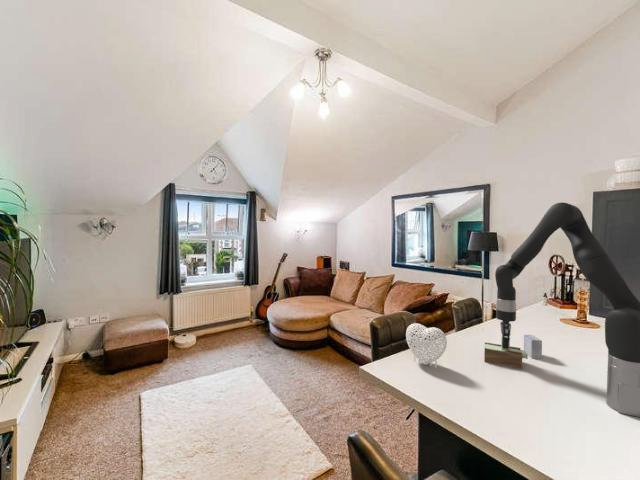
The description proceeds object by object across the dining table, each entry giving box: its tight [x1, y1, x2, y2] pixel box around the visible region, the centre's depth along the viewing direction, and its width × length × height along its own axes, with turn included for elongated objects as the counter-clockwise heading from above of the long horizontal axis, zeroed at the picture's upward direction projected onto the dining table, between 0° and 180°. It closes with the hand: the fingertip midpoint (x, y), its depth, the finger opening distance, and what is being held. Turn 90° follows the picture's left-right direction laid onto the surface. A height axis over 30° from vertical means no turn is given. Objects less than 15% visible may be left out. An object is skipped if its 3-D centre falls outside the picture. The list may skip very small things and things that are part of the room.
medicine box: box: [523, 334, 543, 360], centre depth 142 cm, size 8×4×9 cm, turn 168°
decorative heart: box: [405, 322, 448, 369], centre depth 131 cm, size 18×11×17 cm, turn 45°
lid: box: [484, 334, 529, 360], centre depth 134 cm, size 6×16×7 cm, turn 61°
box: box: [483, 341, 523, 370], centre depth 135 cm, size 9×14×6 cm, turn 61°
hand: (505, 346), depth 134 cm, fingers closed on lid, 2 cm apart
